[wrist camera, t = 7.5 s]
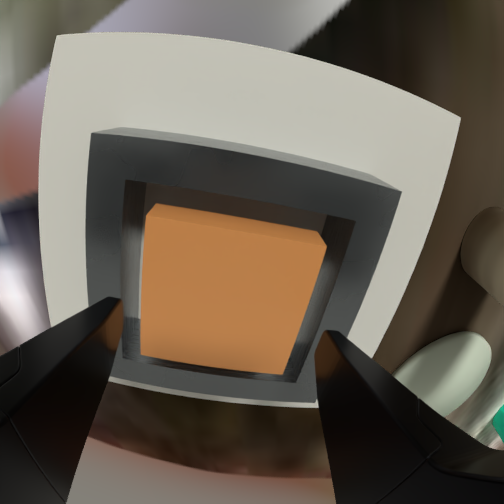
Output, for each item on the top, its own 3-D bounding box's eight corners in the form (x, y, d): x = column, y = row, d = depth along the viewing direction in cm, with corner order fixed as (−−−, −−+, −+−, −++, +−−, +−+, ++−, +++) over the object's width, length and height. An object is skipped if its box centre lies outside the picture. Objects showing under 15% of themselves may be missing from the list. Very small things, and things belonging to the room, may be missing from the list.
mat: (506, 332, 16) (510, 337, 16) (445, 419, 20) (448, 424, 19) (415, 328, 15) (420, 335, 15) (353, 429, 19) (355, 436, 18)
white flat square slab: (450, 116, 11) (502, 124, 8) (340, 397, 17) (354, 443, 14) (66, 38, 9) (19, 23, 6) (65, 358, 15) (43, 401, 12)
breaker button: (317, 231, 10) (327, 246, 9) (279, 352, 12) (282, 374, 11) (155, 203, 9) (145, 215, 8) (147, 333, 11) (140, 354, 10)
